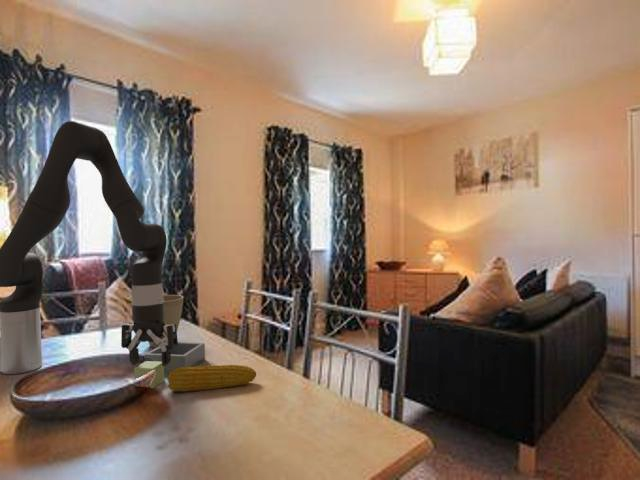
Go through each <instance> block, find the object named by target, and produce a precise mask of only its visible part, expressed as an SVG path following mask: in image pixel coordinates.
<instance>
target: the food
mask: <svg viewBox="0 0 640 480" xmlns="http://www.w3.org/2000/svg"><path fill="white" fill-rule="evenodd" d="M256 377H257V372H256V370H255V369H254V368H252V367H250V366H248V365H238V364H229V365H228V364H227V365H226V364H224V365H223V364H221V365H215V364H214V365H201V366H200V365H197V366H195V367H180V368H177V369H174V370H172V371H171V372H170V374H169V373H168V380H167V383H168V385H167V388H168V389H169V390H170V391H173V392H194V391H202V390H213V389H220V388H231V387H236V386H243V385H246V384H248V383H250V382H253V381H254V380H255V379H256Z"/></svg>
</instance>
